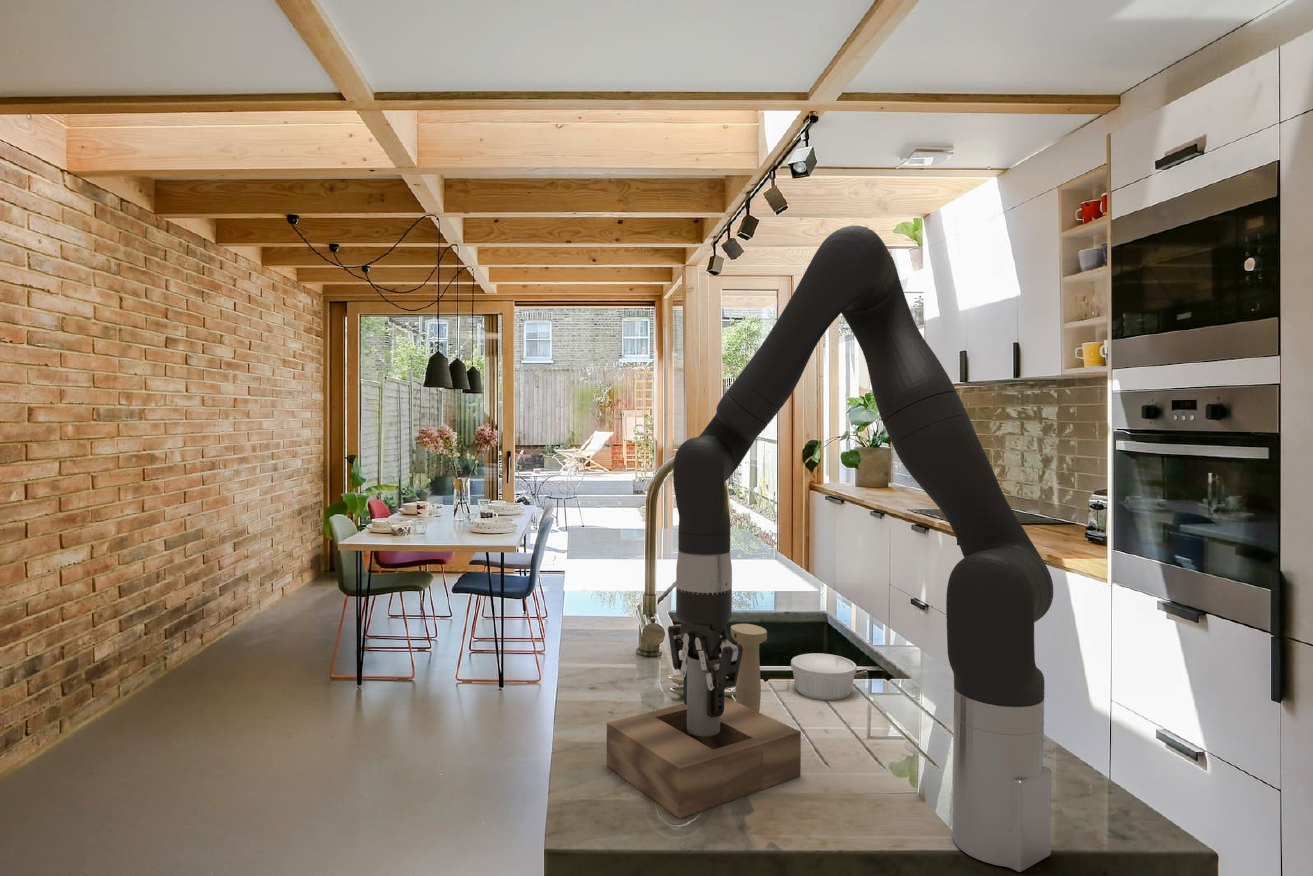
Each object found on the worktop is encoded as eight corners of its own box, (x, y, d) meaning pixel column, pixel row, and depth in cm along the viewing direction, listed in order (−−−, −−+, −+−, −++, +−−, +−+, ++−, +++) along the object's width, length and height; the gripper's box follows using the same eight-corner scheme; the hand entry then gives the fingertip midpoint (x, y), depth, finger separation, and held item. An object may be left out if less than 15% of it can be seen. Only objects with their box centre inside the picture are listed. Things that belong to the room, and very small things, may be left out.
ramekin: (869, 698, 133) (869, 668, 133) (814, 707, 129) (814, 675, 129) (831, 678, 144) (831, 650, 143) (779, 685, 139) (779, 656, 139)
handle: (745, 734, 117) (746, 635, 117) (724, 719, 123) (724, 625, 123) (772, 729, 119) (773, 632, 119) (749, 714, 125) (750, 622, 125)
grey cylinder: (699, 721, 108) (700, 647, 108) (726, 729, 105) (727, 654, 105) (679, 731, 104) (680, 655, 104) (707, 739, 102) (707, 662, 101)
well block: (800, 776, 103) (800, 731, 103) (679, 818, 92) (679, 768, 92) (720, 733, 117) (720, 694, 117) (606, 766, 106) (606, 722, 106)
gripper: (760, 590, 100) (759, 721, 101) (694, 572, 112) (693, 689, 113) (715, 597, 96) (714, 734, 97) (651, 578, 108) (650, 699, 108)
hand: (703, 709), depth 105 cm, fingers closed on grey cylinder, 4 cm apart
